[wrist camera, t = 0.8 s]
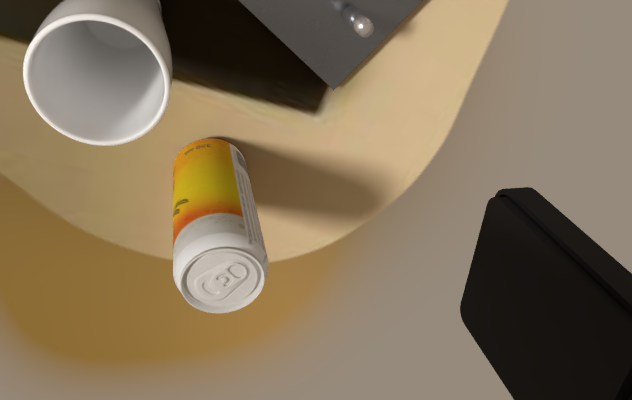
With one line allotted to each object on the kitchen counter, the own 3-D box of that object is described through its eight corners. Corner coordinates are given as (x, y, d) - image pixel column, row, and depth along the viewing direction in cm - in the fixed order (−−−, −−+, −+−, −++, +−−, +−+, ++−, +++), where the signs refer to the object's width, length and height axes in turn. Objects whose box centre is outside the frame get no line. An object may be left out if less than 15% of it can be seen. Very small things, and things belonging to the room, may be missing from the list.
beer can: (157, 163, 45) (151, 282, 33) (214, 120, 44) (230, 226, 32) (205, 208, 49) (216, 331, 36) (259, 169, 48) (289, 282, 35)
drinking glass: (121, -69, 36) (95, -21, 23) (192, 14, 39) (201, 93, 27) (47, -2, 37) (-14, 76, 25) (123, 72, 41) (102, 172, 28)
